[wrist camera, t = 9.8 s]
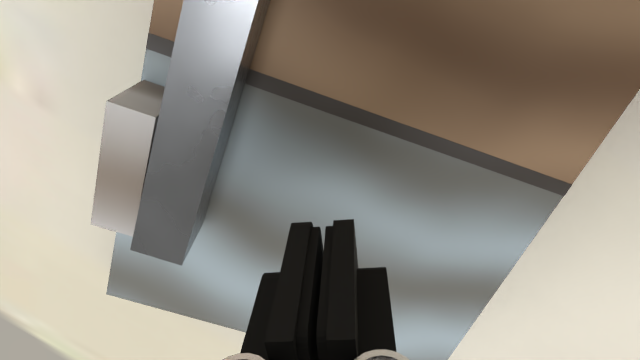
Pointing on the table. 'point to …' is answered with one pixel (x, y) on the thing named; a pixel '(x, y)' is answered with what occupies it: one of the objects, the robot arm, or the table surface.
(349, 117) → the plate
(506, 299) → the table surface
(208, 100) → the lock bar
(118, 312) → the table surface
